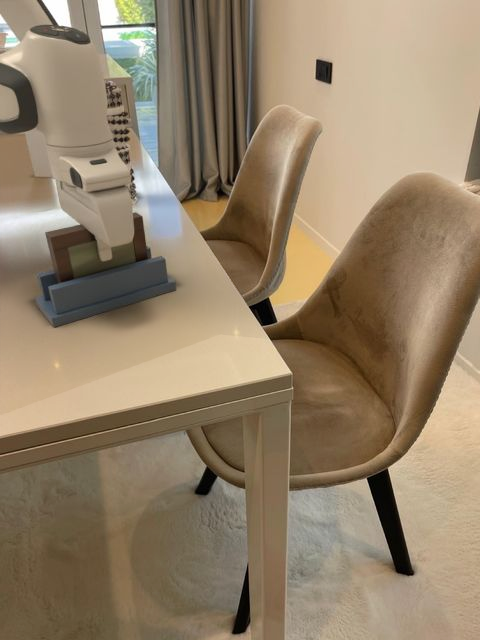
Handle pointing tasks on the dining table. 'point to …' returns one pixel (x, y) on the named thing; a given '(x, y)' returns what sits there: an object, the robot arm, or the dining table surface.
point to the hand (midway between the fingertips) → (100, 255)
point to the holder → (102, 290)
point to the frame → (91, 251)
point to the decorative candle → (119, 130)
